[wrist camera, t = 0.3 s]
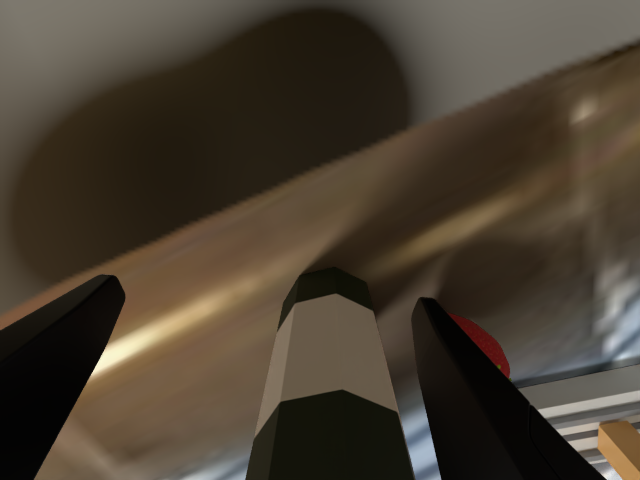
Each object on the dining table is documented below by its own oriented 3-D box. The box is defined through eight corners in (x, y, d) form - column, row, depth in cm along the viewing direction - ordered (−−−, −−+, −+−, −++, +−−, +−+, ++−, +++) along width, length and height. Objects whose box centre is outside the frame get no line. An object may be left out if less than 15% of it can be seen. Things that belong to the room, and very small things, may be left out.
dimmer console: (495, 453, 35) (510, 484, 33) (487, 394, 32) (503, 422, 29) (685, 420, 33) (719, 450, 30) (700, 352, 29) (741, 378, 26)
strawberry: (441, 355, 30) (493, 464, 21) (384, 316, 28) (413, 416, 19) (488, 316, 28) (569, 417, 19) (430, 272, 26) (488, 359, 17)
